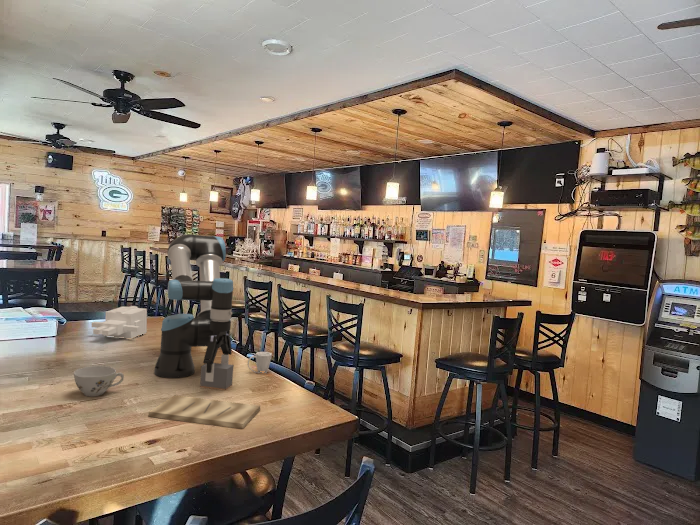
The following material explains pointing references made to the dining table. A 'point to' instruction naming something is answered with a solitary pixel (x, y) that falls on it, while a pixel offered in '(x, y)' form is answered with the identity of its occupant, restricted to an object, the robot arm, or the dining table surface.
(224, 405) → the board
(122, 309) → the white voxel figure
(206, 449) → the dining table surface
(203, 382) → the block
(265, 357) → the cup
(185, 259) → the robot arm
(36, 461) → the dining table surface
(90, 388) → the teacup
